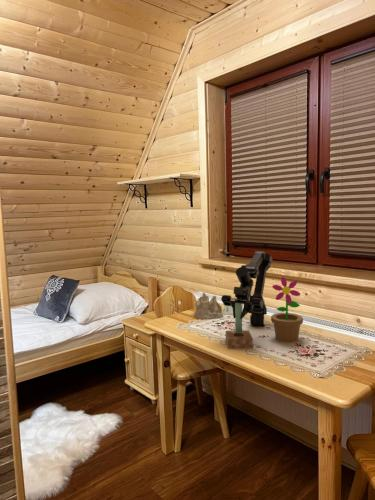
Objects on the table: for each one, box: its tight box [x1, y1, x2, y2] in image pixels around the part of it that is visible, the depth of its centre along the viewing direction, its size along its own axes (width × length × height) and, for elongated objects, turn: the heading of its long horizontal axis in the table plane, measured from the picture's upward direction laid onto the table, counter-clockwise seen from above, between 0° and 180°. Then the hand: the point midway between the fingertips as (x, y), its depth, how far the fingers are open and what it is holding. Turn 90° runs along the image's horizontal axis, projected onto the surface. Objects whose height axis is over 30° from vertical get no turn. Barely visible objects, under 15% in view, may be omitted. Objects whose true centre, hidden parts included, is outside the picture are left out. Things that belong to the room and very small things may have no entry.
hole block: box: [225, 329, 254, 349], centre depth 168 cm, size 11×11×4 cm
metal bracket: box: [222, 304, 248, 316], centre depth 219 cm, size 14×6×15 cm
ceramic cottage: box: [194, 291, 224, 320], centre depth 213 cm, size 16×16×15 cm
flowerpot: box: [270, 276, 304, 343], centre depth 171 cm, size 14×14×30 cm
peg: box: [234, 303, 243, 333], centre depth 167 cm, size 3×3×13 cm
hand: (237, 318), depth 165 cm, fingers closed on peg, 3 cm apart
